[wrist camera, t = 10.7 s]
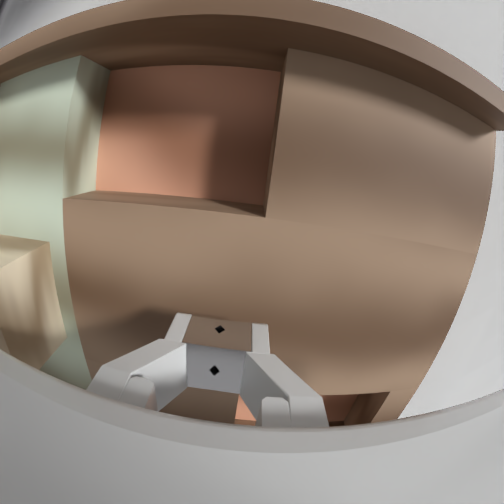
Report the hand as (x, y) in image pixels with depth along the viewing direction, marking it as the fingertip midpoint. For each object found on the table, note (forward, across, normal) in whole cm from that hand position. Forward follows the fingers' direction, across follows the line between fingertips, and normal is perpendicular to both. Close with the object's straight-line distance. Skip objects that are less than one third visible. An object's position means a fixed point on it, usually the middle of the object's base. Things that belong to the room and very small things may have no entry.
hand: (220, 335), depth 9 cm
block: (+1, +10, +1) cm, 10 cm away
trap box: (+4, +1, 0) cm, 4 cm away
